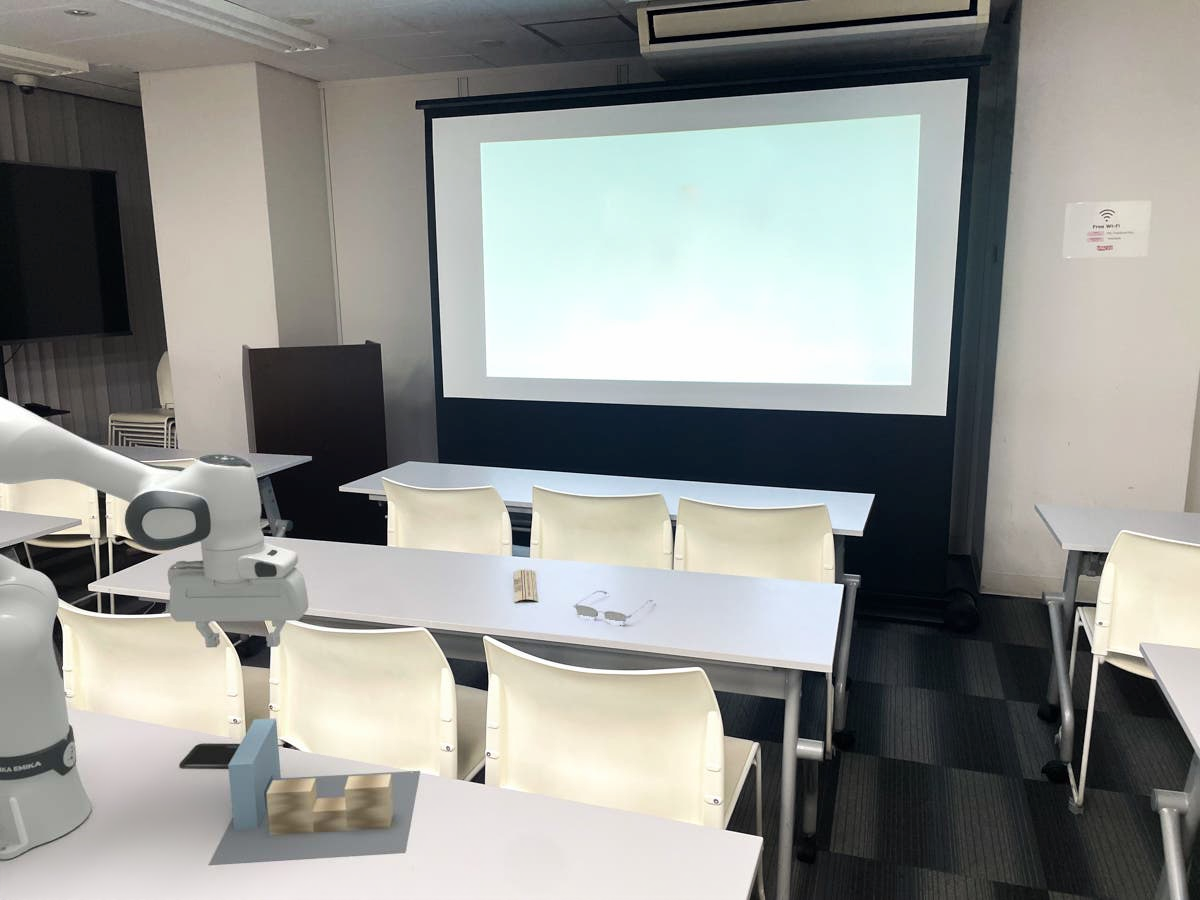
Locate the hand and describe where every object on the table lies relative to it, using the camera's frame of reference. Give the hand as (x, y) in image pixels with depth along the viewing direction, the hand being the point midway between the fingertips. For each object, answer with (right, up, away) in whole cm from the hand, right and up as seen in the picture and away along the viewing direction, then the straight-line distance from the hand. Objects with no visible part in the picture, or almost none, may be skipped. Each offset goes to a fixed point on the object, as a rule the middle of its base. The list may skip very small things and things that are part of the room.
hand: (243, 645), depth 137 cm
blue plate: (0, -27, +6) cm, 27 cm away
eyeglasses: (+59, -11, +88) cm, 107 cm away
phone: (-10, -25, +20) cm, 33 cm away
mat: (+11, -28, +3) cm, 30 cm away
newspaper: (+34, -8, +105) cm, 111 cm away
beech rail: (+14, -28, 0) cm, 31 cm away
